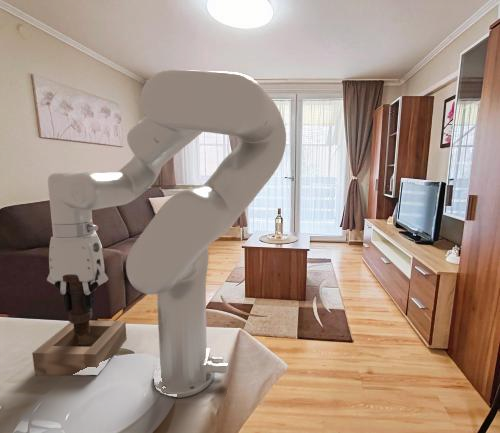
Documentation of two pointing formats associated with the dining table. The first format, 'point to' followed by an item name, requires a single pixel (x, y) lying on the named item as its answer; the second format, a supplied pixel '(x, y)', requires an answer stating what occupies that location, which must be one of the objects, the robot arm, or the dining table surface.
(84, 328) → the bolt
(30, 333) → the dining table surface
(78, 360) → the socket block
